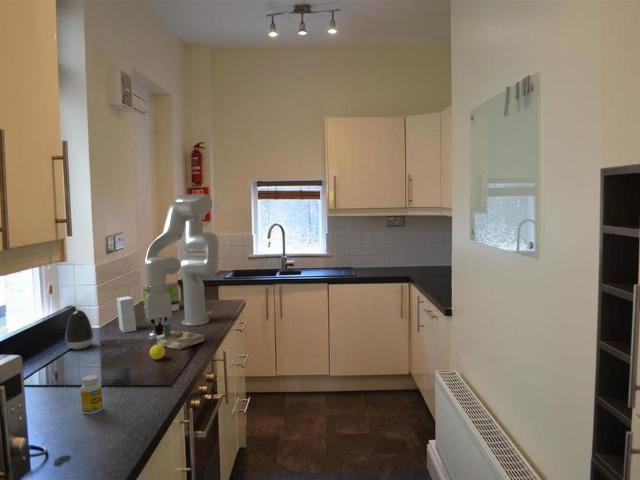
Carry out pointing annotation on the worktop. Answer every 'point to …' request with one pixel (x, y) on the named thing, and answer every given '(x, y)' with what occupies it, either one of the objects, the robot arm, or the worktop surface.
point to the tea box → (173, 293)
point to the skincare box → (126, 314)
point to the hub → (153, 335)
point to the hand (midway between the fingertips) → (159, 334)
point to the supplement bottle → (91, 395)
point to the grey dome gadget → (78, 331)
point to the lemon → (157, 352)
